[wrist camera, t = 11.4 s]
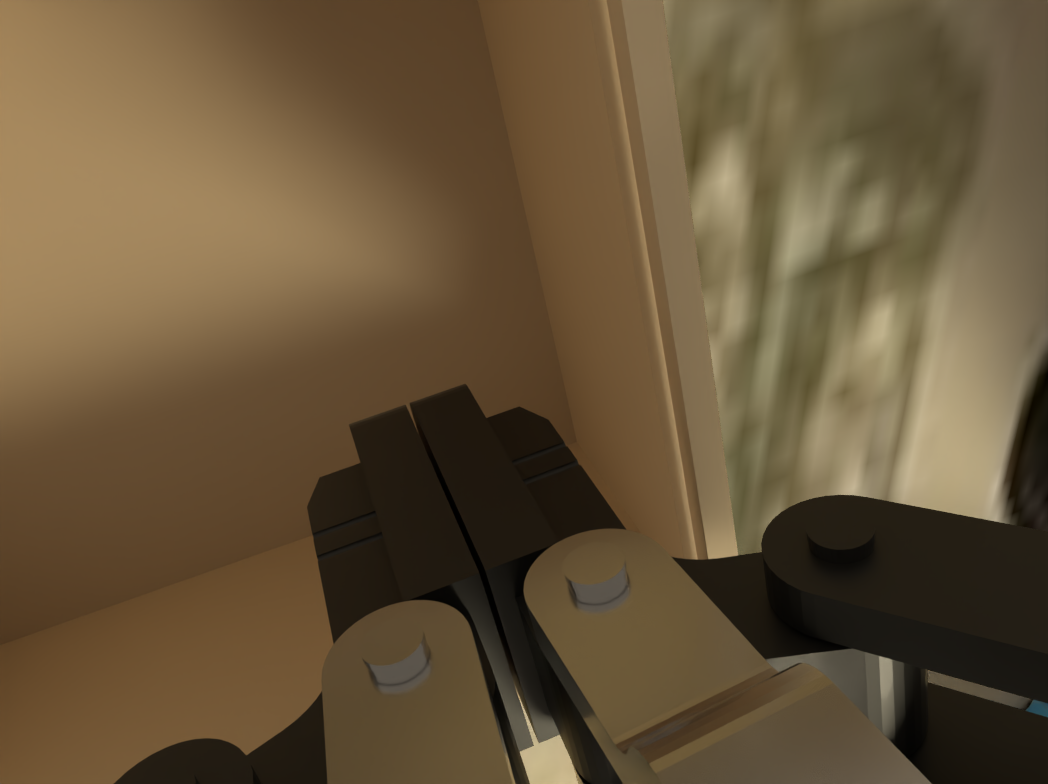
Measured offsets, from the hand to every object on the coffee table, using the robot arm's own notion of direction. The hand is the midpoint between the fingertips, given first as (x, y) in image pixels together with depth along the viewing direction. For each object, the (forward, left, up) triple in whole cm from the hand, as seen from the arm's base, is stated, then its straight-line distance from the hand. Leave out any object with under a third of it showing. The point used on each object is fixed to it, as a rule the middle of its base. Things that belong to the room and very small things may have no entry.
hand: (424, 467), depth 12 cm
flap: (-4, 0, -3) cm, 5 cm away
